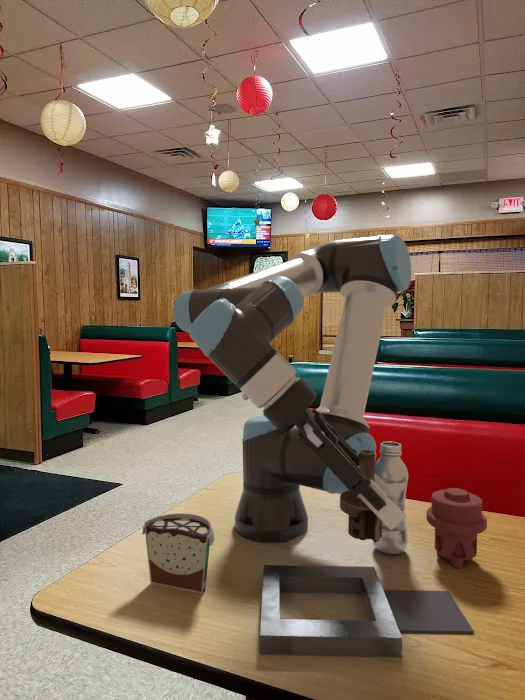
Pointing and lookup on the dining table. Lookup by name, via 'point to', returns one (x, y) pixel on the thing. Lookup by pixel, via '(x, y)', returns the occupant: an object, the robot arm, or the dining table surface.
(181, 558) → the food container
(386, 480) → the plastic bottle
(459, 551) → the mechanical component
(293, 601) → the dining table surface
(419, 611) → the rubber mat
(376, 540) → the industrial component
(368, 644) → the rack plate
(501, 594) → the dining table surface
